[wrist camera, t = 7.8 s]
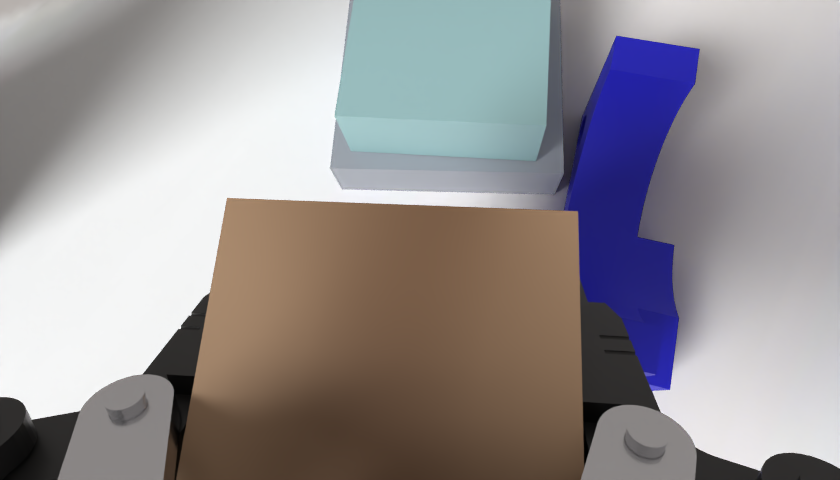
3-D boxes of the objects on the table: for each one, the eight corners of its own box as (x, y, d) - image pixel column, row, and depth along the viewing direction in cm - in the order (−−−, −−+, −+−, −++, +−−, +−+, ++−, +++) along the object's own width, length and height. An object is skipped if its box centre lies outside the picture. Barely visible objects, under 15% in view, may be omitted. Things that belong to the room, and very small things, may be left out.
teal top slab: (351, 151, 23) (334, 115, 20) (373, 1, 25) (361, -51, 22) (536, 161, 22) (546, 125, 19) (542, 4, 24) (552, -48, 21)
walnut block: (313, 489, 14) (155, 593, 7) (336, 293, 16) (227, 198, 8) (515, 505, 14) (588, 637, 6) (517, 303, 16) (577, 210, 8)
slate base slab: (344, 194, 26) (330, 168, 23) (363, 23, 28) (352, -19, 26) (552, 199, 25) (563, 173, 22) (549, 22, 28) (559, -21, 25)
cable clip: (642, 391, 21) (707, 387, 16) (533, 363, 22) (558, 350, 16) (677, 135, 25) (742, 56, 19) (581, 117, 25) (616, 35, 20)
